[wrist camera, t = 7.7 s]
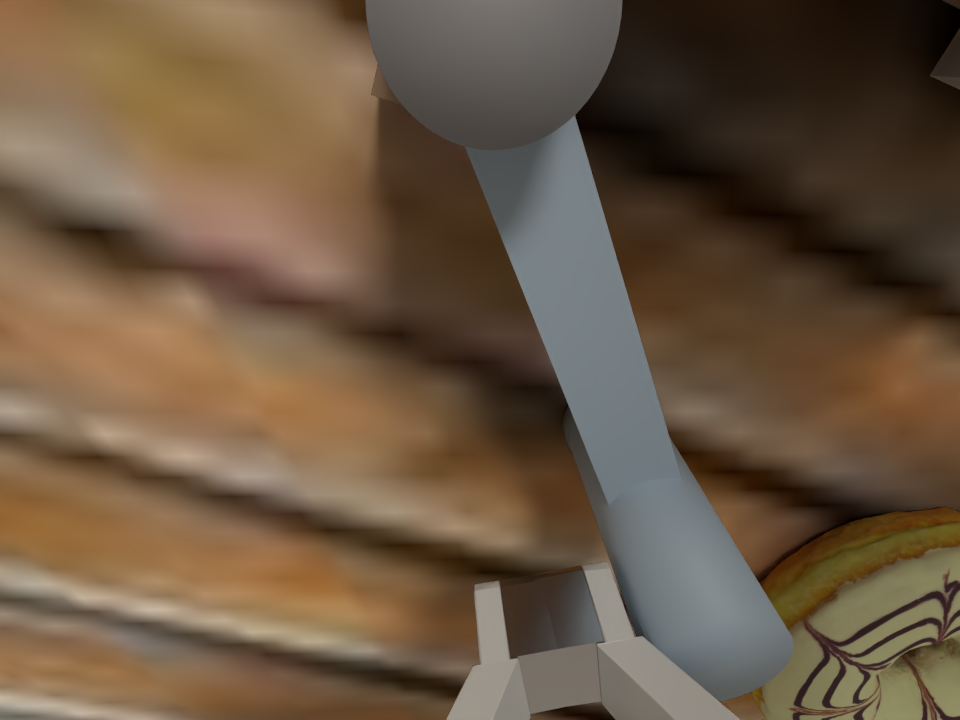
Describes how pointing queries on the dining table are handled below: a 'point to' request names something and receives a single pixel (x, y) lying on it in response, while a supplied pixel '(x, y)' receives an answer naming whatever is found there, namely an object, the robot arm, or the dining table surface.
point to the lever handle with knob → (583, 308)
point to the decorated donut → (871, 622)
